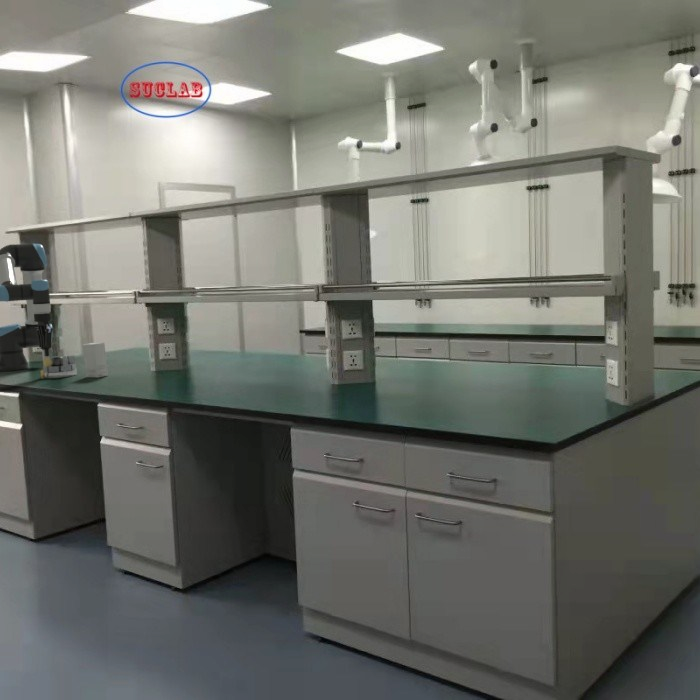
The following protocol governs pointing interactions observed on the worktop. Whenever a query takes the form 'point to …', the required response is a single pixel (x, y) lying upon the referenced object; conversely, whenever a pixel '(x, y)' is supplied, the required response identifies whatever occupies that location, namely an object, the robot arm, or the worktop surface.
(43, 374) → the post
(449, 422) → the worktop surface
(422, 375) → the worktop surface
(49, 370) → the ring nut
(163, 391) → the worktop surface
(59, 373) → the housing
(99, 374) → the skincare box
